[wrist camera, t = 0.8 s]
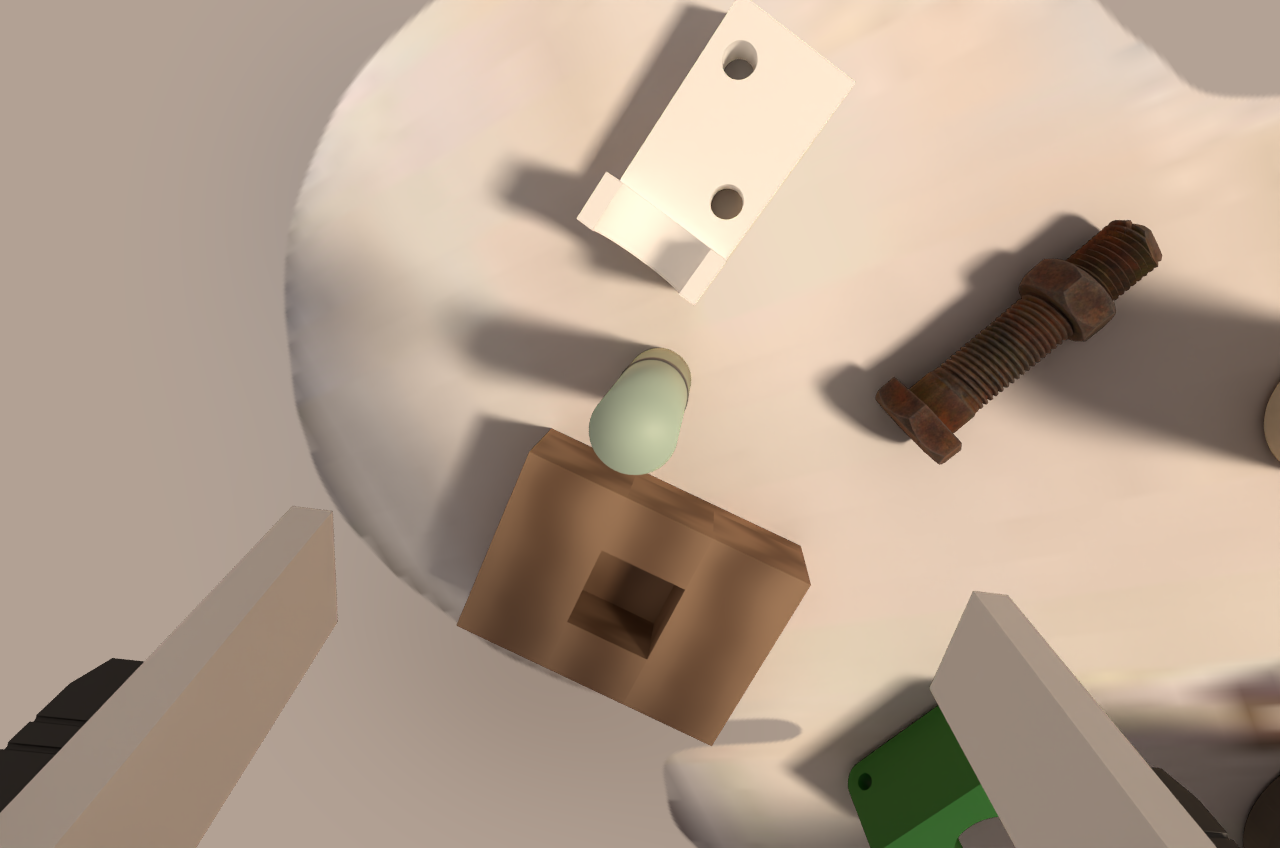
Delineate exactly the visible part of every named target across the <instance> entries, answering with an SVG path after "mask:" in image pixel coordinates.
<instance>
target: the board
mask: <svg viewBox="0 0 1280 848" xmlns="http://www.w3.org/2000/svg"><path fill="white" fill-rule="evenodd" d="M810 585H811V584H810V580H809V576H808V572H807V568H806V564H805V561H804V557H803V553H802V549H801V546H799V545H797V544H795V543H793V542H791V541H789V540H787V539H785V538H782V537H780V536H778V535H776V534H774V533H772V532H770V531H768V530H766V529H763V528H761V527H759V526H757V525H755V524H753V523H751V522H749V521H746V520H744V519H742V518H740V517H738V516H736V515H734V514H732V513H730V512H727V511H725V510H723V509H721V508H719V507H717V506H715V505H713V504H710V503H708V502H706V501H704V500H702V499H700V498H698V497H696V496H694V495H691V494H689V493H687V492H685V491H683V490H681V489H679V488H677V487H674V486H672V485H670V484H668V483H666V482H664V481H662V480H660V479H658V478H655V477H653V476H651V475H649V474H642V475H628V474H623V473H620V472H617V471H615V470H613V469H611V468H610V467H608V466H607V465H606V464H604V463H603V462H602V461H601V460H600V458H599V457H598V456H597V455H596V453H595V451H594V449H593V448H592V447H590V446H588V445H586V444H583V443H581V442H579V441H577V440H575V439H573V438H571V437H569V436H566V435H564V434H562V433H560V432H558V431H556V430H554V429H551V430H550V431H549V432H548V433H547V434H546V435H545V436H544V437H543V438H542V439H541V440H540V441H539V442H538V443H537V444H536V445H535V446H534V447H533V448H532V450H531V451H530V452H529V454H528V456H527V458H526V461H525V463H524V466H523V468H522V470H521V473H520V475H519V477H518V480H517V482H516V485H515V487H514V489H513V492H512V494H511V497H510V499H509V501H508V504H507V506H506V509H505V511H504V513H503V516H502V518H501V520H500V523H499V525H498V528H497V530H496V532H495V535H494V537H493V540H492V542H491V544H490V547H489V549H488V551H487V554H486V556H485V559H484V561H483V563H482V566H481V568H480V571H479V573H478V575H477V578H476V580H475V582H474V585H473V587H472V590H471V592H470V594H469V597H468V599H467V602H466V604H465V606H464V609H463V611H462V614H461V616H460V618H459V621H458V623H457V626H459V627H461V628H463V629H465V630H467V631H469V632H471V633H473V634H475V635H478V636H480V637H482V638H484V639H486V640H488V641H490V642H492V643H495V644H497V645H499V646H501V647H503V648H505V649H507V650H509V651H511V652H514V653H516V654H518V655H520V656H522V657H524V658H526V659H528V660H530V661H533V662H535V663H537V664H539V665H541V666H543V667H545V668H547V669H550V670H552V671H554V672H556V673H558V674H560V675H562V676H564V677H566V678H569V679H571V680H573V681H575V682H577V683H579V684H581V685H583V686H586V687H588V688H590V689H592V690H594V691H596V692H598V693H600V694H602V695H605V696H607V697H609V698H611V699H613V700H615V701H617V702H619V703H621V704H624V705H626V706H628V707H630V708H632V709H634V710H636V711H638V712H641V713H643V714H645V715H647V716H649V717H651V718H653V719H655V720H658V721H660V722H662V723H664V724H666V725H668V726H670V727H672V728H675V729H677V730H679V731H681V732H683V733H685V734H687V735H689V736H691V737H694V738H696V739H698V740H700V741H702V742H704V743H706V744H708V745H710V746H712V745H713V743H714V741H715V740H716V738H717V736H718V735H719V733H720V732H721V730H722V728H723V727H724V725H725V723H726V722H727V720H728V719H729V717H730V715H731V714H732V712H733V711H734V709H735V707H736V706H737V704H738V702H739V701H740V699H741V698H742V696H743V694H744V693H745V691H746V689H747V688H748V686H749V685H750V683H751V681H752V680H753V678H754V676H755V675H756V673H757V672H758V670H759V668H760V667H761V665H762V663H763V662H764V660H765V659H766V657H767V655H768V654H769V652H770V650H771V649H772V647H773V646H774V644H775V642H776V641H777V639H778V637H779V636H780V634H781V633H782V631H783V629H784V628H785V626H786V624H787V623H788V621H789V620H790V618H791V616H792V615H793V613H794V611H795V610H796V608H797V607H798V605H799V603H800V602H801V600H802V598H803V597H804V595H805V594H806V592H807V590H808V589H809V587H810Z"/></svg>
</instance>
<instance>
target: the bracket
mask: <svg viewBox="0 0 1280 848" xmlns="http://www.w3.org/2000/svg"><path fill="white" fill-rule="evenodd" d="M736 59H742V60H746V61H747V62H749V63H750V64H751V66H752V67H753V69H754V72H753V73H752V74H751V75H750V76H749V77H747V78H745V79H742V80H735V79H732V78H730V77H728V76H727V75H726V73H725V72H724V69H725V67H726V66H727V65H728V64H729V63H730V62H731V61H733V60H736ZM855 83H856V82H855V81H854V80H853V79H851V78H850V77H849V76H847V75H846V74H845V73H844V72H842V71H841V70H840V69H838V68H837V67H836V66H835V65H833V64H832V63H831V62H829V61H828V60H827V59H826V58H824V57H823V56H822V55H820V54H819V53H818V52H817V51H815V50H814V49H813V48H811V47H810V46H809V45H808V44H806V43H805V42H804V41H802V40H801V39H800V38H799V37H797V36H796V35H795V34H793V33H792V32H791V31H789V30H788V29H787V28H786V27H784V26H783V25H782V24H780V23H779V22H778V21H777V20H775V19H774V18H773V17H771V16H770V15H769V14H768V13H766V12H765V11H764V10H762V9H761V8H760V7H759V6H757V5H756V4H755V3H753V2H752V1H751V0H735V2H734V3H733V5H732V6H731V8H730V10H729V11H728V13H727V14H726V16H725V17H724V19H723V20H722V22H721V24H720V25H719V27H718V28H717V30H716V31H715V33H714V34H713V36H712V38H711V39H710V41H709V42H708V44H707V45H706V47H705V48H704V50H703V52H702V53H701V55H700V56H699V58H698V59H697V61H696V62H695V64H694V66H693V67H692V69H691V70H690V72H689V73H688V75H687V76H686V78H685V80H684V81H683V83H682V84H681V86H680V87H679V89H678V90H677V92H676V94H675V95H674V97H673V98H672V100H671V101H670V103H669V104H668V106H667V108H666V109H665V111H664V112H663V114H662V115H661V117H660V118H659V120H658V122H657V123H656V125H655V126H654V128H653V129H652V131H651V132H650V134H649V135H648V137H647V139H646V140H645V142H644V143H643V145H642V146H641V148H640V149H639V151H638V153H637V154H636V156H635V157H634V159H633V160H632V162H631V163H630V165H629V167H628V168H627V170H626V171H625V173H624V174H623V176H622V177H621V179H620V180H619V179H617V178H616V177H614V176H613V175H611V174H610V173H608V172H606V173H605V174H604V176H603V177H602V179H601V181H600V182H599V184H598V185H597V187H596V189H595V190H594V192H593V193H592V195H591V196H590V198H589V200H588V201H587V203H586V204H585V206H584V207H583V209H582V211H581V212H580V214H579V215H578V217H577V220H579V221H580V222H582V223H583V224H584V225H586V226H587V227H588V228H590V229H591V230H592V231H595V232H598V233H600V234H601V235H603V236H605V237H607V238H608V239H610V240H612V241H613V242H615V243H616V244H618V245H619V246H621V247H622V248H624V249H625V250H627V251H628V252H630V253H631V254H633V255H634V256H635V257H637V258H638V259H639V260H641V261H642V262H644V263H645V264H646V265H648V266H649V267H650V268H651V269H653V270H654V271H655V272H657V273H658V274H659V275H660V276H661V277H663V278H664V279H665V280H666V281H667V282H668V283H670V284H671V285H672V286H673V287H674V288H675V289H676V290H677V292H678V293H679V295H680V296H682V297H683V298H684V299H686V300H687V301H688V302H690V303H691V304H692V305H695V304H696V303H697V301H698V300H699V298H700V297H701V296H702V294H703V293H704V292H705V290H706V289H707V287H708V286H709V285H710V283H711V282H712V281H713V279H714V278H715V276H716V275H717V274H718V272H719V271H720V270H721V268H722V267H723V266H724V264H725V263H726V260H727V258H728V257H729V256H730V254H731V253H732V251H733V250H734V249H735V247H736V246H737V245H738V243H739V242H740V240H741V239H742V238H743V236H744V235H745V234H746V232H747V231H748V229H749V228H750V227H751V225H752V224H753V223H754V221H755V220H756V218H757V217H758V216H759V214H760V213H761V212H762V210H763V209H764V207H765V206H766V205H767V203H768V202H769V201H770V199H771V198H772V197H773V195H774V194H775V192H776V191H777V190H778V188H779V187H780V186H781V184H782V183H783V181H784V180H785V179H786V177H787V176H788V175H789V173H790V172H791V170H792V169H793V168H794V166H795V165H796V164H797V162H798V161H799V159H800V158H801V157H802V155H803V154H804V153H805V151H806V150H807V148H808V147H809V146H810V144H811V143H812V142H813V140H814V139H815V137H816V136H817V135H818V133H819V132H820V131H821V129H822V128H823V126H824V125H825V124H826V122H827V121H828V120H829V118H830V117H831V116H832V114H833V113H834V111H835V110H836V109H837V107H838V106H839V105H840V103H841V102H842V100H843V99H844V98H845V96H846V95H847V94H848V92H849V91H850V89H851V88H852V87H853V85H854V84H855ZM722 189H732V190H735V191H736V192H737V193H738V194H739V195H740V196H741V199H742V203H743V205H742V210H741V212H740V213H739V214H738V215H737V216H736V217H734V218H732V219H728V220H724V219H720V218H718V217H717V216H715V215H714V213H713V212H712V210H711V201H712V199H713V197H714V195H715V194H716V193H717V192H718V191H720V190H722Z"/></svg>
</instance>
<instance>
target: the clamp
mask: <svg viewBox="0 0 1280 848" xmlns="http://www.w3.org/2000/svg"><path fill="white" fill-rule="evenodd" d="M848 789H849V792H850V795H851V798H852V800H853V803H854V806H855V808H856V811H857V813H858V816H859V819H860V821H861V824H862V827H863V829H864V832H865V835H866V837H867V840H868V842H869V845H870V848H963V847H962V845H961V843H960V841H959V839H958V837H959V836H960V835H961V833H962V832H963V831H965V830H966V829H967V828H969V827H970V826H972V825H973V824H975V823H977V822H980V821H982V820H985V819H988V818H993V817H999V816H998V815H997V813H996V811H995V809H994V807H993V805H992V803H991V802H990V800H989V798H988V796H987V794H986V792H985V791H984V789H983V787H982V785H981V783H980V781H979V779H978V778H977V776H976V774H975V772H974V770H973V768H972V767H971V765H970V763H969V761H968V759H967V757H966V755H965V754H964V752H963V750H962V748H961V746H960V744H959V742H958V741H957V739H956V737H955V735H954V733H953V731H952V730H951V728H950V726H949V724H948V722H947V720H946V718H945V717H944V715H943V713H942V711H941V709H940V707H939V706H937V707H935V708H934V709H932V710H931V711H930V712H928V713H927V714H926V715H924V716H923V717H921V718H920V719H919V720H917V721H916V722H914V723H913V724H912V725H910V726H909V727H907V728H906V729H905V730H903V731H902V732H900V733H899V734H898V735H896V736H895V737H893V738H892V739H891V740H889V741H888V742H886V743H885V744H884V745H882V746H881V747H879V748H878V749H877V750H875V751H874V752H873V753H871V754H870V755H868V756H867V757H866V758H864V759H863V760H861V761H860V762H859V763H857V764H856V765H855V766H854V767H853V768H852V770H851V772H850V774H849V778H848Z"/></svg>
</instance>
